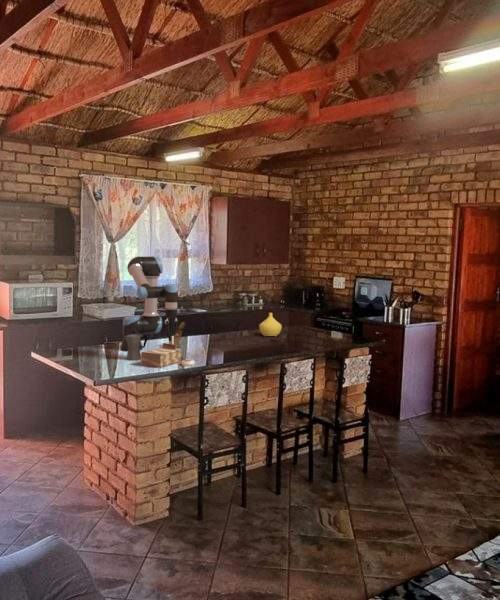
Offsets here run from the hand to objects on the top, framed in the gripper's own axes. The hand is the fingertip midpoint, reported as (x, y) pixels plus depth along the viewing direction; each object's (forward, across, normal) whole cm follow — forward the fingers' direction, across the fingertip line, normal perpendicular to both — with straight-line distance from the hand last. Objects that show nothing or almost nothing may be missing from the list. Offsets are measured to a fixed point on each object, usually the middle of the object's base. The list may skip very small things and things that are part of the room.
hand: (171, 346), depth 350 cm
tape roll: (+10, +5, +16) cm, 19 cm away
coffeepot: (+10, +8, -22) cm, 25 cm away
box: (+9, +11, 0) cm, 14 cm away
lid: (+2, +10, 0) cm, 10 cm away
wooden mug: (+10, -43, -26) cm, 52 cm away
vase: (+10, -126, +9) cm, 127 cm away
